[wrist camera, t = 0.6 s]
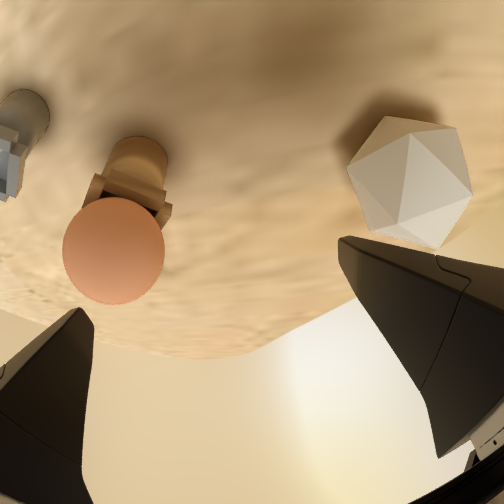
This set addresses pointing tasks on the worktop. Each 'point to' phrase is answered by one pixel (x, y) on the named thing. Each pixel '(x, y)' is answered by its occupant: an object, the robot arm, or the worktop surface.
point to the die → (411, 180)
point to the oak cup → (134, 177)
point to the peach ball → (113, 251)
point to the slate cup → (19, 136)
